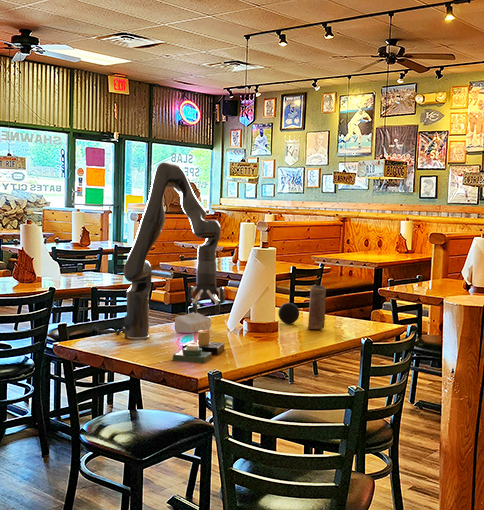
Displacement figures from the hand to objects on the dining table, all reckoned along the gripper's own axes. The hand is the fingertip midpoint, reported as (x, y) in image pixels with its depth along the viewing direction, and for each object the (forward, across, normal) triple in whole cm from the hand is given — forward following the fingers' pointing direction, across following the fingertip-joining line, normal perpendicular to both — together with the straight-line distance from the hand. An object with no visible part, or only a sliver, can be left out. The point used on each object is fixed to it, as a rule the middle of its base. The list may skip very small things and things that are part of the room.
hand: (206, 313), depth 269 cm
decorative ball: (+15, -20, -73) cm, 77 cm away
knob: (+12, +1, +1) cm, 12 cm away
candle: (+15, -35, -62) cm, 73 cm away
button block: (+15, +1, +15) cm, 21 cm away
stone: (+15, +18, -39) cm, 46 cm away
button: (+11, +1, +15) cm, 19 cm away
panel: (+15, +1, +1) cm, 15 cm away
